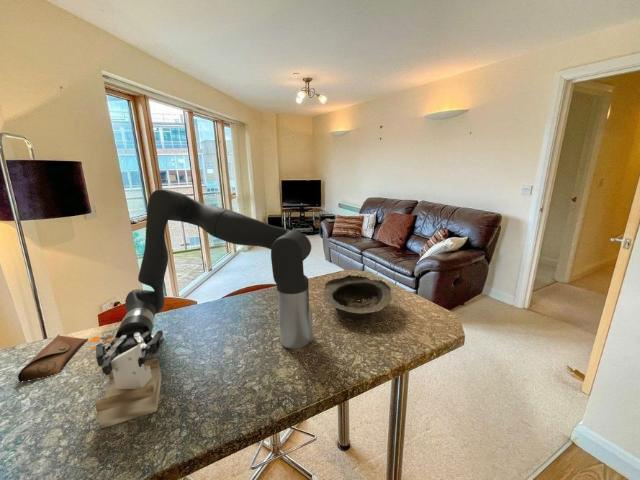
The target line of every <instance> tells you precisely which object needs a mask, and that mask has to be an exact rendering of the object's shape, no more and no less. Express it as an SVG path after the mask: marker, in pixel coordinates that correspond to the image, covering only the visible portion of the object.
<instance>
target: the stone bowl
mask: <svg viewBox="0 0 640 480" xmlns="http://www.w3.org/2000/svg"><path fill="white" fill-rule="evenodd" d="M391 291H392V289H391V286H390V285H388V284H387V283H386V281H383V280H382V279H379V280H378V279H377V280H376V279H371V278H369V277H367V276H362V275H360V276H359V275H358V274H357V275H350V274H348V275H345V276H344V277H340V278H333V279H331V280H328V281H327V282H326V283H325V285H324V290H323V291H322V294H323V297H324V299H325V301H326V303H328V304H329V305H330V306H331V307H332V308H334V309H335V311H336V312H337V313H338V314H340V315H342V316H343V317H344V318H347V319H356V320H362V319H365V318H369V317H370V316H373V315H375V314H376V313H377V312H380V311H381V310H383V309H384V308H385V307H386V306H388V305H390V303H391V301H392V298H393V297H392V292H391ZM361 299H364V300H361ZM358 300H360V301H358Z"/></svg>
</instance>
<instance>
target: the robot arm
mask: <svg viewBox="0 0 640 480" xmlns="http://www.w3.org/2000/svg"><path fill="white" fill-rule="evenodd" d="M168 221H174V222H183V223H187V224H190V225H193V226H197V227H199V228H201V229H203V230H204V231H205V232H206V233H207V234H209V236H212V237H214V238H216V239H218V240H221V241H224V242H226V243H230V244H233V245H240V246H249V247H250V246H251V247H259V248H266V249H267V250H268V249H269V250H270V259H271V262H270V263H271V269H272V277H273V281H274V283H275V285H276V293H277V294H276V296H277V311H278V326H279V341H280V344H281V346H283V347H284V348H287V349H289V350H295V349H301V348H305V347H306V346H307V345H308V344H310V343H311V342H313V341H314V334H313V333H314V332H313V331H314V330H313V312H312V311H311V310H310V291H309V289H310V288H309V287H310V286H309V278H308V276H306V275H305V273H304V261H305V260H306V259H307V258H308V257H309V255H310V253H311V251H312V244H311V241H310V239H309V238H308V237H307V236H306V235H305V234H304V233H302V232H300V231H297V230H294V229H289V228H284V227H280V226H276V225H271V224H268V223H266V222H263V221H262V220H261V221H260V220H258V219H255V218H252V217H249V216H246V215H244V214H242V213H240V212H236V211H233V210H230V209H227V208H223V207H219V206H216V205H215V206H214V205H209V204H208V205H207V204H205V203H202V202H200V201H198V200H196V199H193V198H192V197H189V196H188V195H185V194H183V193H181V192H178V191H175V190H174V191H173V190H170V189H166V188H158V189H156V190H154V191H152V193H151V194H150V195H149V197H148V200H147V208H146V223H145V241H144V242H145V243H144V250H143V255H142V260H141V264H140V267H139V273H138V278H137V279H138V282H139V283H141V284H143V285H146V286H149V287H150V288H152V290H147V289H140V288H139V289H132V290H131V291H130V292H128V293H127V295H126V298H125V302H124V305H125V311H126V313H125V316H123V318H122V320H121V322H120V325H119V327H118V329H117V332H116V334H115V337H114V340H113V341H112V342H111V344H110V343H108V344H107V343H106V344H104V343H102V342H101V343H98V344H96V345H95V347H96V350H95V358H96V362H97V367H101V370H102V374H104V375H105V376H109V375H110V374H111V371H112V366H111V361H112V360H113V359H115V358H116V357H117V356H119V355H121V354H122V353H124V352H126V351H128V350H130V349H131V348H133V347H135V346H137V345H139V344H140V347H141V353H142V357H141V358H140V357H139V359H138V364H139V367H141V366H142V364H144V363H145V362H146V360H147V358H148V357H149V354H156V353H157V352H159V349H160V348H161V346H162V344H163V343H164V341H165V337H164V332H163V330H161V329H160V330H158V331H157V332H156V333H153V329H154V327H155V316H156V314H158V313H160V312H161V311H162V310H163V308H164V305H165V293H164V282H165V280H164V279H165V276H166V272H167V267H168V263H169V253H168V252H169V251H168V249H167V244H166V238H165V237H166V236H165V234H166V233H165V232H166V227H167V224H168ZM152 333H153V334H152ZM103 344H104V345H103Z"/></svg>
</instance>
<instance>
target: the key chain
mask: <svg viewBox="0 0 640 480" xmlns="http://www.w3.org/2000/svg"><path fill="white" fill-rule="evenodd" d="M109 332H112V333H111V334H109V335H107V336H104V334H106V333H109ZM115 332H116V330H115V329H113V330H107V331H104V332H103V333H102V336H96V337H93V338H91V339H90V340H89V342H90V343H91V342H92V343H93V342H94V343H95V342H97V341H99V340H101V339H102V340H101V341H102V342H104V343H102V344H103V345H106V344H107V343H108V344H111V342H112V341H113V340H114V339H115V337H113V335H114V333H115ZM94 351H95V352H96V346H95V347H92V348H91V349H90V350H89V352H86V353H85V354H84V355H83V356H84V357H88V356H89V355H90V354H92V353H93V352H94Z"/></svg>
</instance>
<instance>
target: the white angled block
mask: <svg viewBox="0 0 640 480" xmlns="http://www.w3.org/2000/svg"><path fill="white" fill-rule="evenodd" d="M139 357H140V358H141V357H142V353H141V347H140V344H139V345H137V346H135V347H133V348H131V349H130V350H128V351H126V352H124V353H122V354H121V355H119V356H117V357H116V358H115V359H113V360H112V361H111V366H112V372H113V376H114V381H115V386H116V389H139V388H143V387H144V386H145V385H146V384H147V383H148V381H149V380H150V379H151V378H152V375H151V369H150V366H144V364H142V366H141V367H139V364H138V359H139Z"/></svg>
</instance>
